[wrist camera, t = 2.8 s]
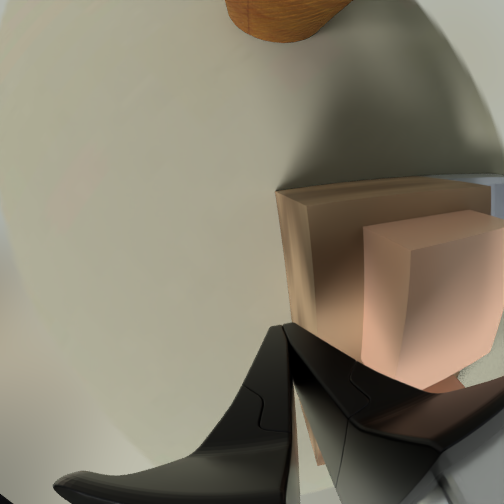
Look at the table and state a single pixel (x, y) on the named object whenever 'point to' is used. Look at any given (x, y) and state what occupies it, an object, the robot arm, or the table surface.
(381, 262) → the tile
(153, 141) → the table surface
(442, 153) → the table surface
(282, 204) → the brown wooden block
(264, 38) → the disposable coffee cup
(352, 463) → the robot arm
